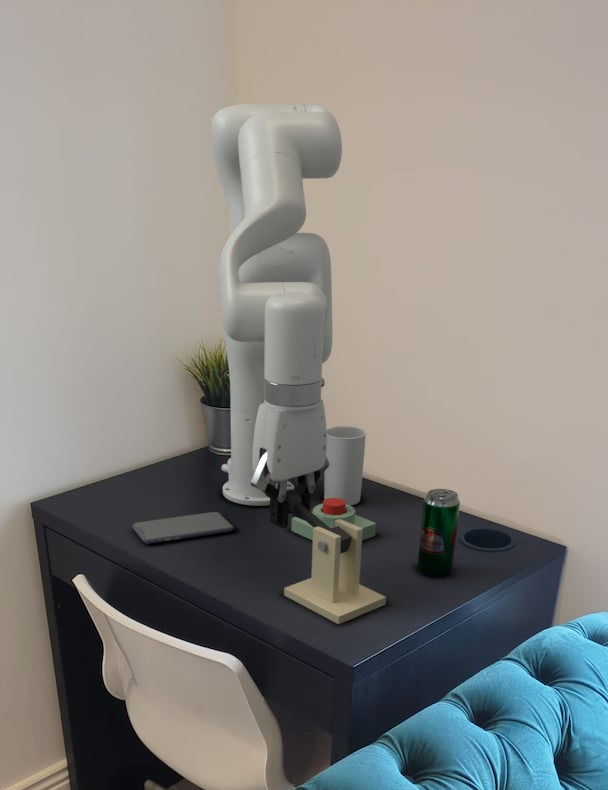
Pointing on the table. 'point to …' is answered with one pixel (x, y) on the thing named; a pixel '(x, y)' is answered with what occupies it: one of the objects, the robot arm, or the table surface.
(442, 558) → the soda can
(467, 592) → the table surface
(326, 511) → the button
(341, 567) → the lever bracket
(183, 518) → the smartphone
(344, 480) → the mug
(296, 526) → the control block
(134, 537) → the table surface
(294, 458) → the robot arm
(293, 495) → the ball knob handle
